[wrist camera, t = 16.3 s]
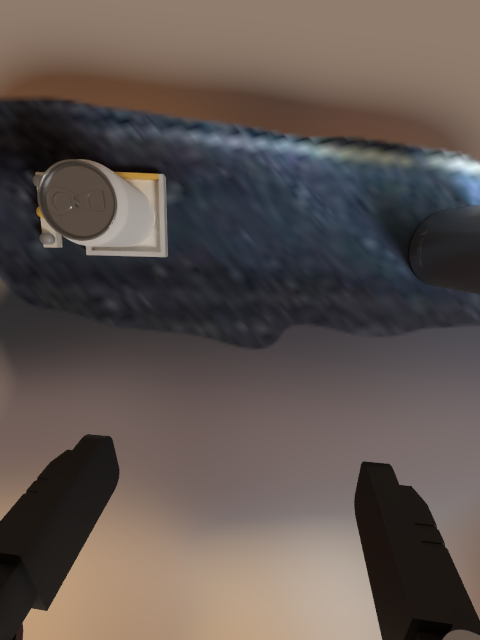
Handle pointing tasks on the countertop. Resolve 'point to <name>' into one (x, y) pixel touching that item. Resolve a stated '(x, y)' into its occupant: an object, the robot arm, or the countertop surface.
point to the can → (94, 205)
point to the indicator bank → (48, 233)
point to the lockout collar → (157, 241)
